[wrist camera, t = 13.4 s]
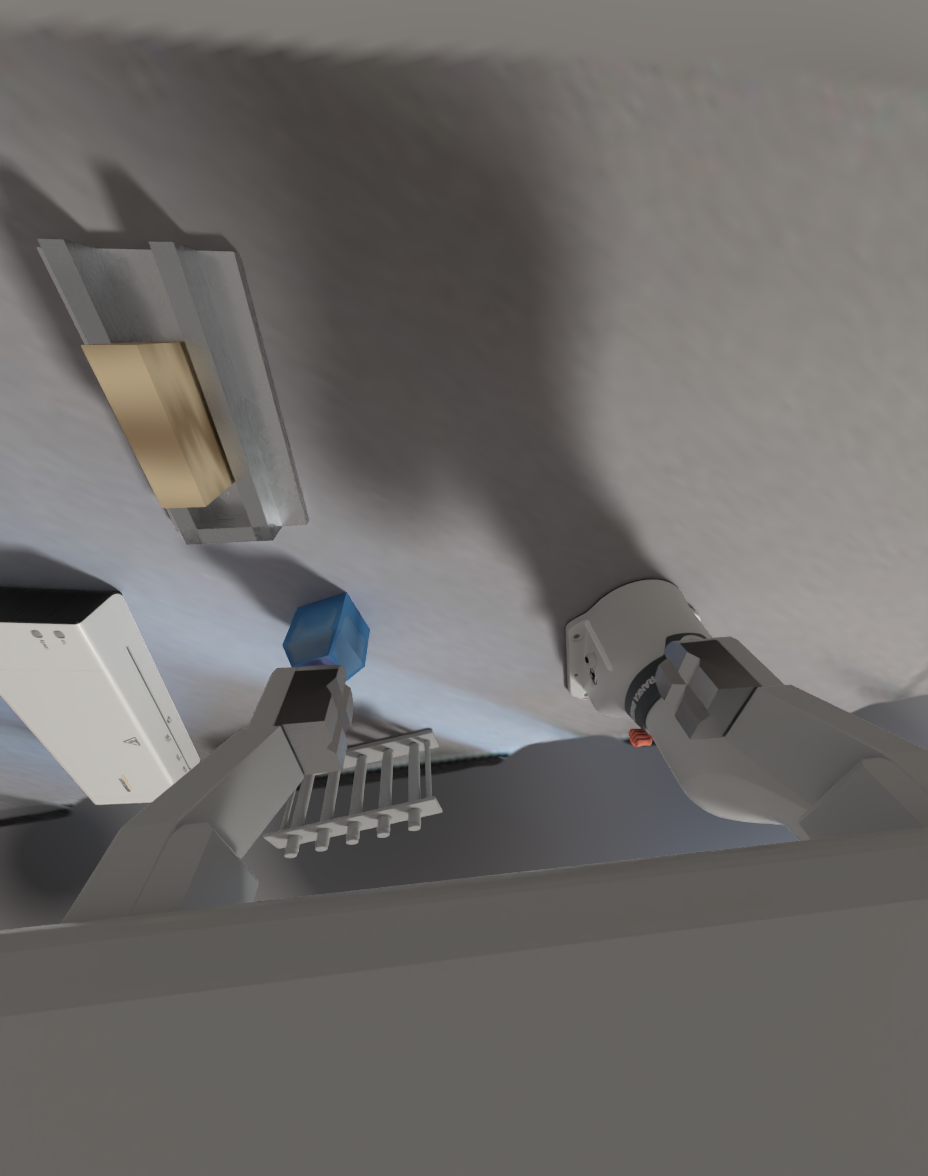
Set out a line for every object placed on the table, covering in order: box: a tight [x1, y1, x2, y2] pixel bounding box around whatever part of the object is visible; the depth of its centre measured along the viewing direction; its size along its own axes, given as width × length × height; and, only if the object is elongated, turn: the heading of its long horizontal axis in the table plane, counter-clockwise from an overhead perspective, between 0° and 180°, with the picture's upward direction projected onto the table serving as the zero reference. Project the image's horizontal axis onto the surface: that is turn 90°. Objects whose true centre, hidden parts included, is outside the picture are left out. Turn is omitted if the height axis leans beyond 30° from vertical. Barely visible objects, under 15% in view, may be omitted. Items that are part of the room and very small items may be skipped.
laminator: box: [0, 587, 201, 805], centre depth 45 cm, size 34×12×6 cm, turn 172°
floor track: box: [36, 239, 309, 544], centre depth 29 cm, size 20×12×4 cm, turn 0°
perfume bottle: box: [283, 592, 370, 681], centre depth 40 cm, size 6×6×12 cm
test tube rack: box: [263, 729, 442, 858], centre depth 56 cm, size 25×4×13 cm, turn 102°
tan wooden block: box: [81, 341, 235, 509], centre depth 27 cm, size 10×3×7 cm, turn 0°
